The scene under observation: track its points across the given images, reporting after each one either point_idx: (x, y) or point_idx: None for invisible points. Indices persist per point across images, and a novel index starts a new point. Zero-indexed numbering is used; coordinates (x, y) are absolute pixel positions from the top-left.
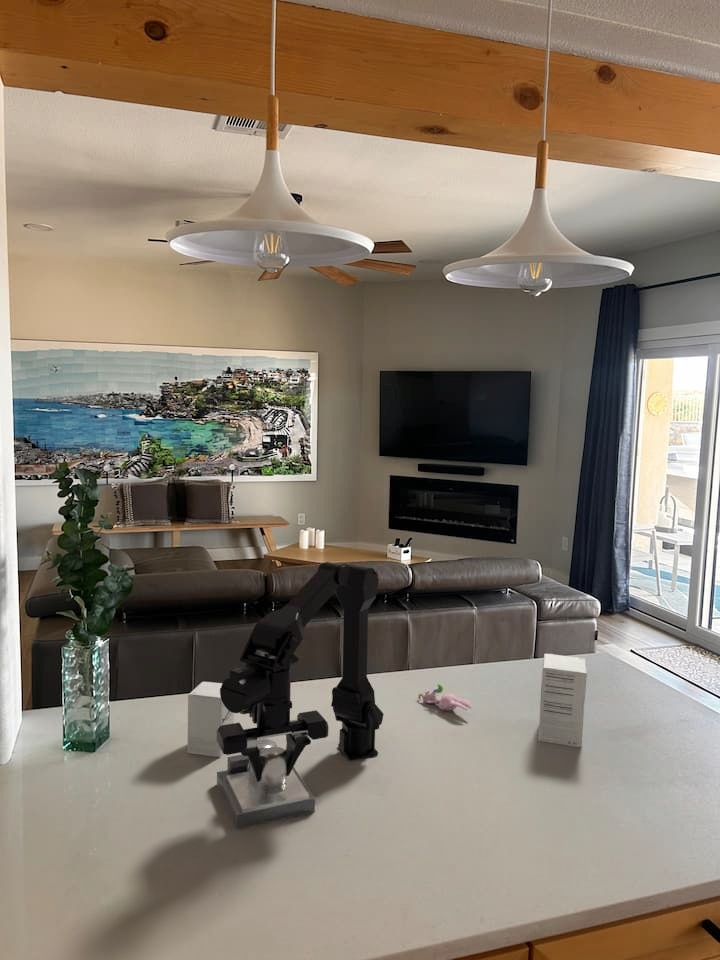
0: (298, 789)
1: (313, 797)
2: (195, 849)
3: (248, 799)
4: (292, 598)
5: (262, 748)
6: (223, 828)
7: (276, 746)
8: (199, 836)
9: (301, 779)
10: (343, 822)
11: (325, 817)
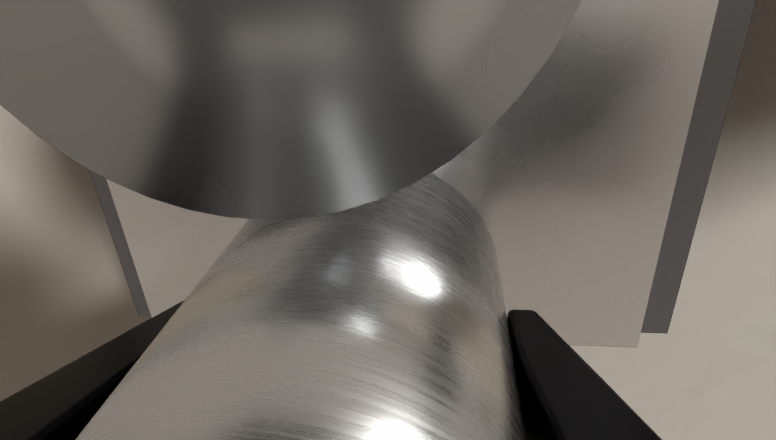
0: (599, 259)
1: (668, 314)
2: (8, 332)
3: (196, 248)
4: None
5: (177, 27)
6: (113, 241)
7: (557, 39)
8: (5, 259)
9: (741, 35)
10: (724, 400)
11: (662, 338)
